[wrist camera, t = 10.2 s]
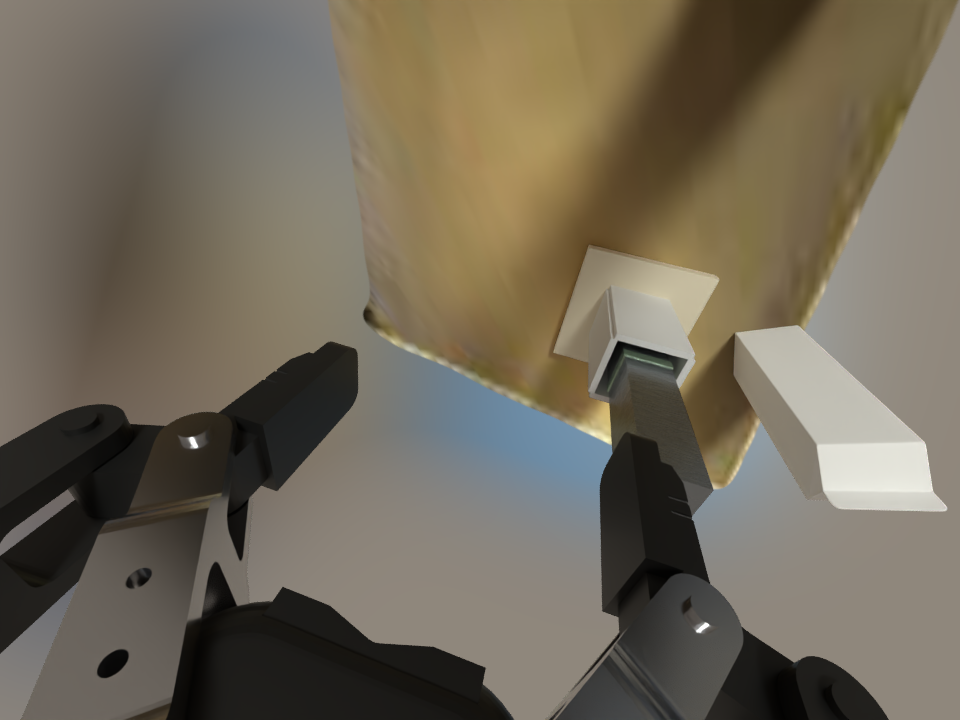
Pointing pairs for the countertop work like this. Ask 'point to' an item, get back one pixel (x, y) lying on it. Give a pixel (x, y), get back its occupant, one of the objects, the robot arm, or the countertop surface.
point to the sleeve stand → (631, 312)
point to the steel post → (655, 414)
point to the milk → (831, 425)
